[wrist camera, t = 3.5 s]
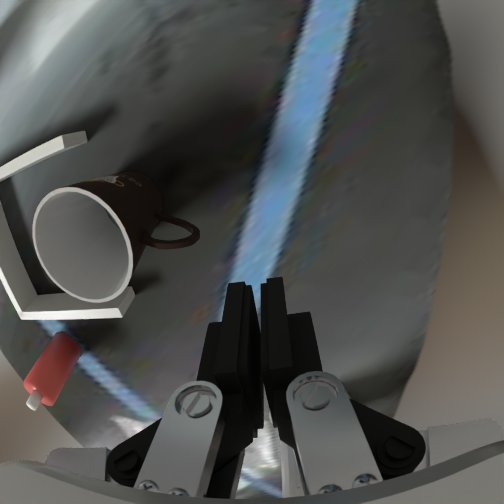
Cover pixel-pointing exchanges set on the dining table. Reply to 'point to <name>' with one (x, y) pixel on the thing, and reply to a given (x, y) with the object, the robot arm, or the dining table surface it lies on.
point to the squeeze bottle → (51, 370)
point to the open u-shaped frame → (14, 273)
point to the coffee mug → (100, 233)
